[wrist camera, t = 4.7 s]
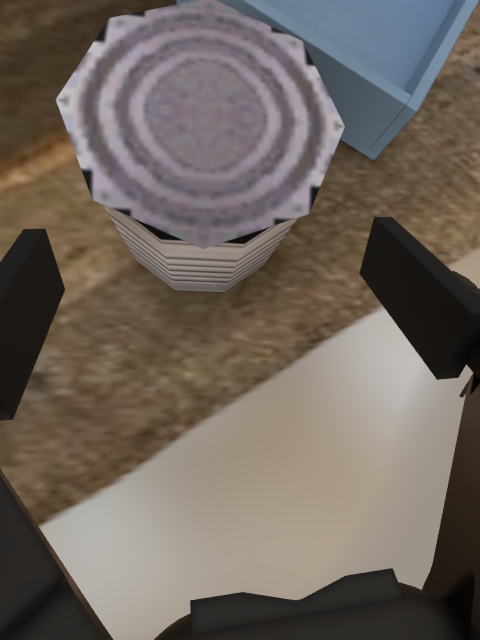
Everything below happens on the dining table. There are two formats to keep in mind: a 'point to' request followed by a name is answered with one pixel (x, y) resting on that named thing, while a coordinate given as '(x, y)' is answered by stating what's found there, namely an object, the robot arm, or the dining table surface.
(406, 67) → the tote
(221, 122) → the can
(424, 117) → the dining table surface
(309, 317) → the dining table surface
